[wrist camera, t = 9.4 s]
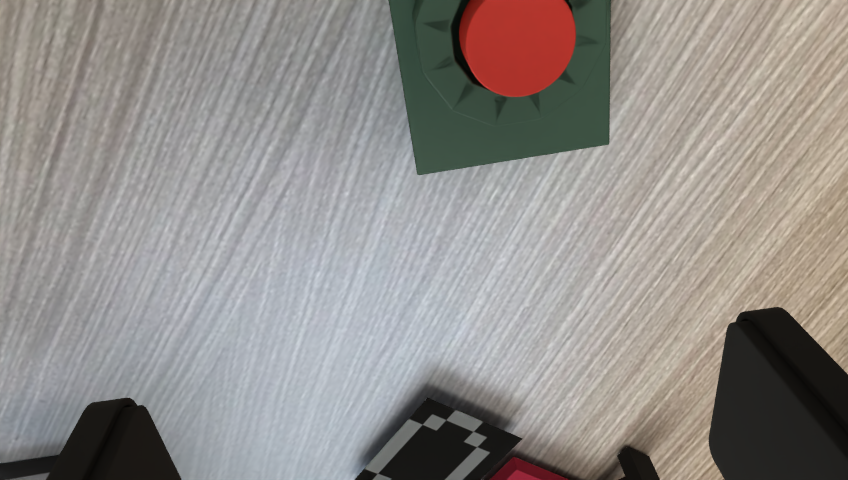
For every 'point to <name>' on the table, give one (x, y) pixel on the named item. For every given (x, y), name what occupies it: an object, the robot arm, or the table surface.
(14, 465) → the bracket
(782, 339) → the robot arm
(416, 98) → the button box
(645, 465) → the red board with handle
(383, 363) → the table surface
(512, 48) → the button
